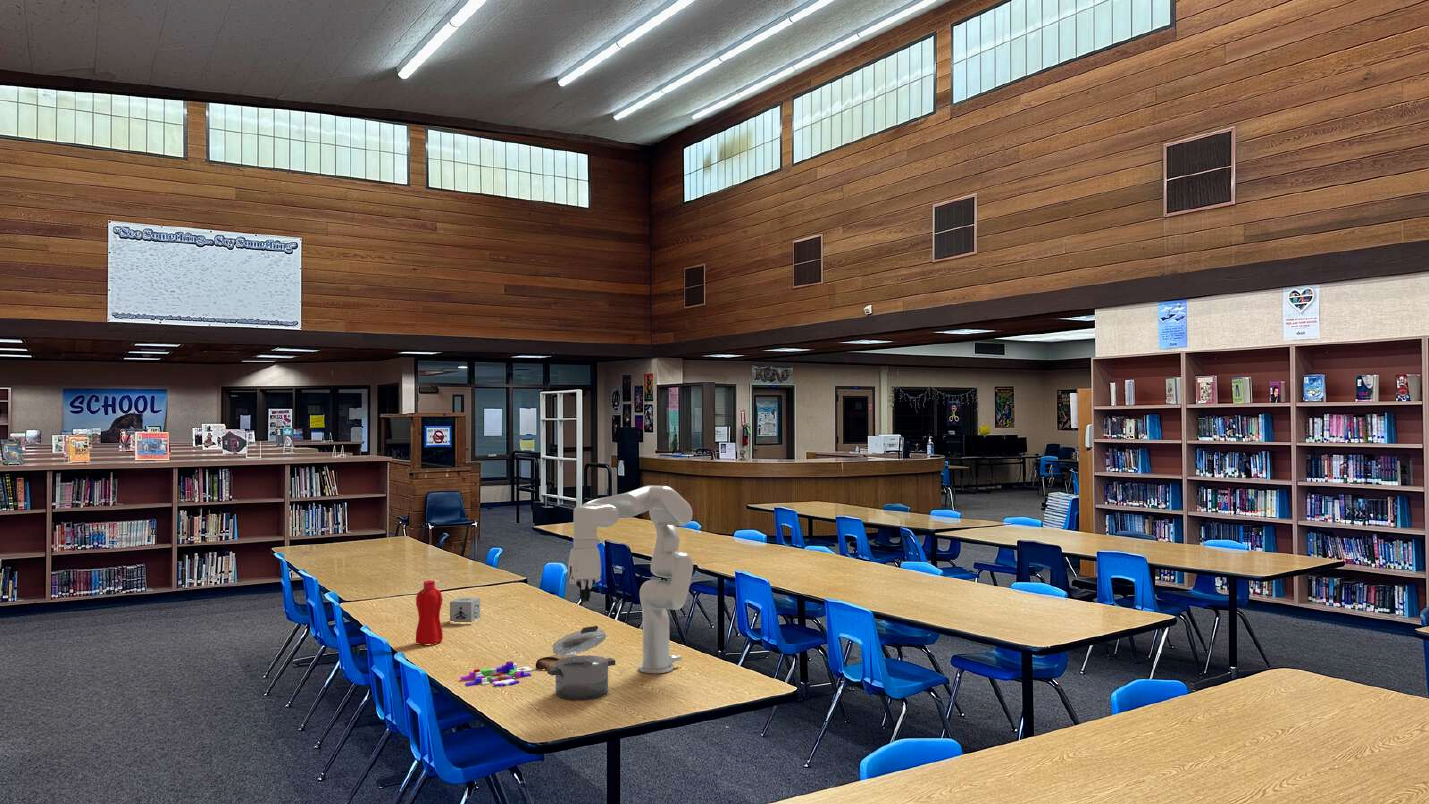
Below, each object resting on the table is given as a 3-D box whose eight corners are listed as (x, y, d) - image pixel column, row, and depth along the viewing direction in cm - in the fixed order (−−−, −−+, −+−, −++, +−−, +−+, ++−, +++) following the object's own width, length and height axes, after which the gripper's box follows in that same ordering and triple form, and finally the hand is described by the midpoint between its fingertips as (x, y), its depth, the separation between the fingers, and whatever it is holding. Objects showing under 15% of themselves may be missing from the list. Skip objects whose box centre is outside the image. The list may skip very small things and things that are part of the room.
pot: (600, 680, 308) (600, 651, 308) (624, 693, 293) (624, 662, 294) (538, 691, 296) (538, 661, 296) (560, 705, 281) (560, 673, 281)
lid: (594, 651, 307) (592, 643, 308) (615, 626, 294) (613, 618, 295) (546, 658, 297) (544, 650, 299) (565, 633, 284) (563, 625, 285)
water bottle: (409, 645, 360) (409, 582, 360) (427, 639, 370) (427, 578, 370) (427, 647, 356) (427, 584, 357) (446, 641, 366) (446, 579, 367)
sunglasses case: (551, 672, 319) (545, 654, 321) (539, 679, 322) (533, 662, 325) (586, 661, 334) (580, 644, 336) (574, 668, 337) (568, 651, 339)
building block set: (474, 692, 297) (474, 679, 297) (456, 678, 314) (456, 665, 314) (545, 681, 310) (545, 667, 310) (524, 667, 328) (524, 655, 328)
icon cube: (459, 619, 408) (459, 597, 408) (480, 620, 407) (480, 597, 407) (449, 624, 398) (449, 601, 399) (471, 624, 397) (471, 602, 397)
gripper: (600, 541, 300) (600, 597, 300) (559, 544, 292) (558, 601, 291) (611, 543, 294) (610, 600, 293) (568, 547, 286) (568, 605, 285)
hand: (584, 600), depth 292 cm, fingers closed
